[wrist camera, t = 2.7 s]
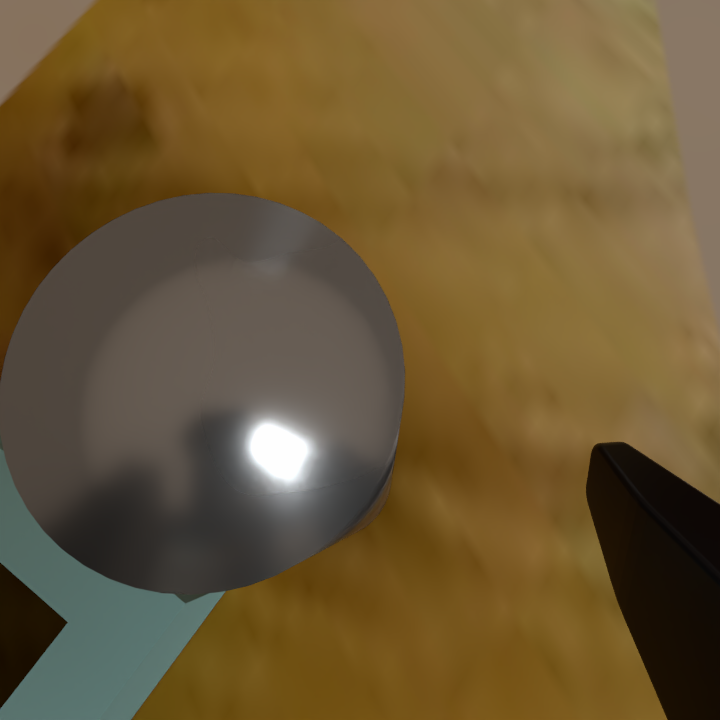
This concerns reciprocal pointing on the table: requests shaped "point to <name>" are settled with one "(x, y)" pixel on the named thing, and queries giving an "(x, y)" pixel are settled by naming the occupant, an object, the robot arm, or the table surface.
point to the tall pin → (203, 395)
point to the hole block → (90, 627)
